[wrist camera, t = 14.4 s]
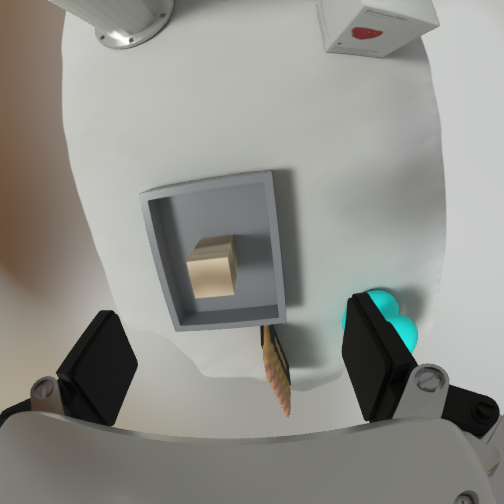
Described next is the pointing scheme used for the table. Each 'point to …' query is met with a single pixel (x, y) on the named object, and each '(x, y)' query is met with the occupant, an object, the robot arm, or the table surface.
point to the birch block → (213, 267)
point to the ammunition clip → (276, 366)
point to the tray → (211, 225)
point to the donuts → (394, 317)
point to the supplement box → (373, 24)
